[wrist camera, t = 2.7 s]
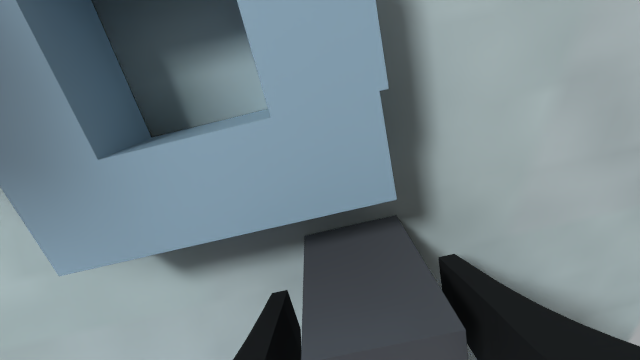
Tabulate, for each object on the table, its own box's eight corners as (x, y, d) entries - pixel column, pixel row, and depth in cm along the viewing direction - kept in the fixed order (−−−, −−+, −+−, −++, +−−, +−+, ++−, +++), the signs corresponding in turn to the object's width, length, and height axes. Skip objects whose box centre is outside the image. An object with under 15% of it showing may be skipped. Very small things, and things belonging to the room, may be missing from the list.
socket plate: (382, 167, 12) (404, 197, 9) (110, 231, 12) (51, 278, 10) (313, -232, 8) (316, -398, 5) (-79, -114, 9) (-270, -206, 6)
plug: (408, 289, 14) (474, 435, 8) (325, 307, 14) (335, 461, 9) (396, 215, 13) (465, 329, 7) (304, 235, 13) (300, 363, 7)
